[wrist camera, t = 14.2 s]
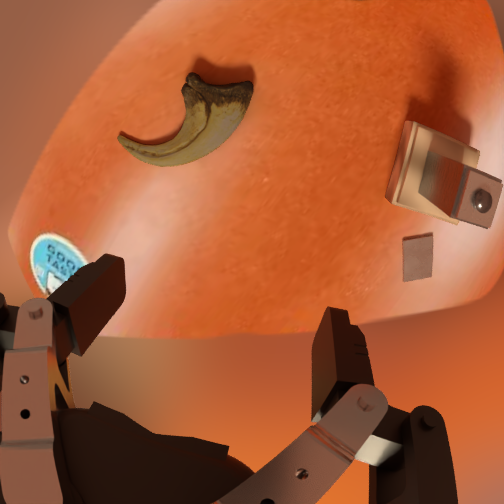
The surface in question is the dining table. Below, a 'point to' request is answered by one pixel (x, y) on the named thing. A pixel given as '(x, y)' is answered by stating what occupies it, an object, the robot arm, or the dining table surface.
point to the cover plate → (417, 258)
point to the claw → (198, 123)
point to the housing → (460, 190)
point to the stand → (412, 165)
